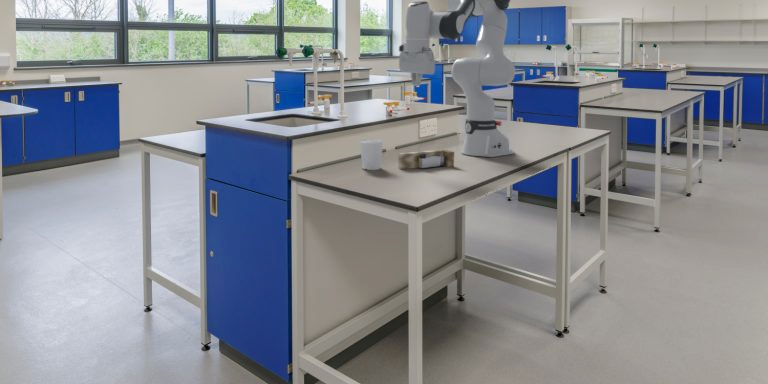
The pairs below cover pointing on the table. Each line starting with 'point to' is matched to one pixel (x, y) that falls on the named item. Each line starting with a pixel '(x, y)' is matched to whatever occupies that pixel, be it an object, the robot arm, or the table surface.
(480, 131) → the robot arm
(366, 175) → the table surface
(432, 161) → the crank handle
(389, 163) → the table surface
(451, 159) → the wooden l-bracket
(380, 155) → the white cup
